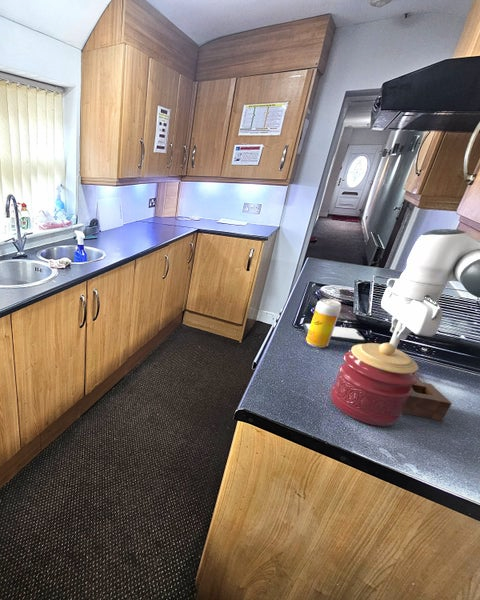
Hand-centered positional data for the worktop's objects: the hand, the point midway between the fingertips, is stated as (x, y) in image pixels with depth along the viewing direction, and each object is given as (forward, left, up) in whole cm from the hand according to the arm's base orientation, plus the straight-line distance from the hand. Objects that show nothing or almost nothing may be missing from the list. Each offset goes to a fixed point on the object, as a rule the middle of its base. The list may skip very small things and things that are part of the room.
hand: (397, 335), depth 93 cm
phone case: (+9, -15, -10) cm, 20 cm away
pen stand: (+3, +21, -10) cm, 23 cm away
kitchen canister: (+15, +26, -10) cm, 31 cm away
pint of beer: (+16, -6, -10) cm, 20 cm away
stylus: (0, 0, -7) cm, 7 cm away
